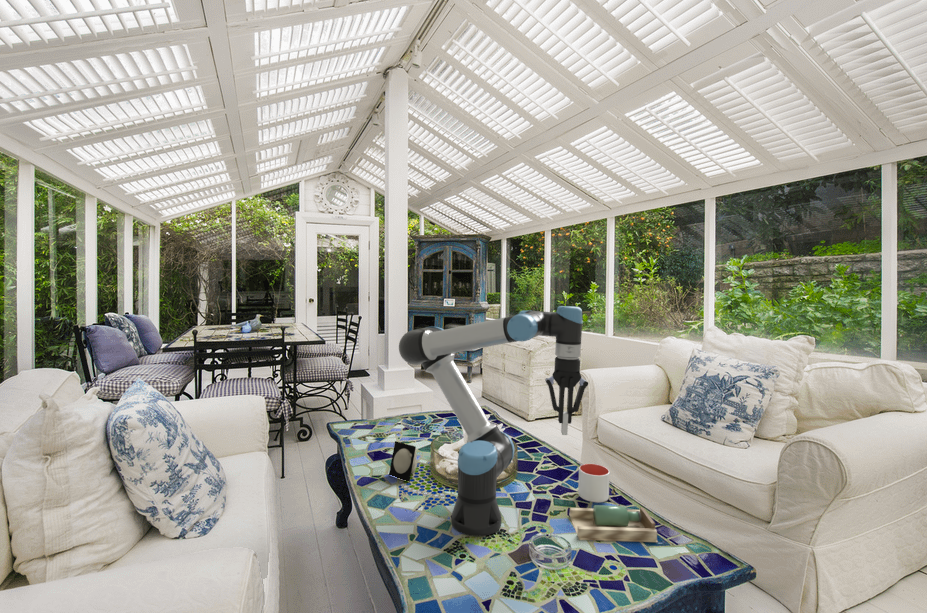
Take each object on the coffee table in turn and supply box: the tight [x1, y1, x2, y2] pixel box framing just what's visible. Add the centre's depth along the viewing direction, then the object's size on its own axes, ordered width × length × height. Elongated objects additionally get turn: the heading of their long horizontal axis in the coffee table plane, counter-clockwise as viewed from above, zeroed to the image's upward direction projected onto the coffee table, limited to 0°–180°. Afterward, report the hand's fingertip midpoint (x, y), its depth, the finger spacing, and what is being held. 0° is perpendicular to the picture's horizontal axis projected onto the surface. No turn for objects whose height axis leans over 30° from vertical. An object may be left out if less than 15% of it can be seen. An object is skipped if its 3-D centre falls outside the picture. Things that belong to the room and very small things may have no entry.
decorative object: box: [388, 440, 418, 483], centre depth 168 cm, size 13×10×10 cm
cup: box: [577, 463, 611, 503], centre depth 153 cm, size 10×10×10 cm
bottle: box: [593, 504, 641, 526], centre depth 134 cm, size 5×5×13 cm
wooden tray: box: [568, 507, 659, 543], centre depth 133 cm, size 22×14×5 cm, turn 89°
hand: (564, 433), depth 137 cm, fingers closed
